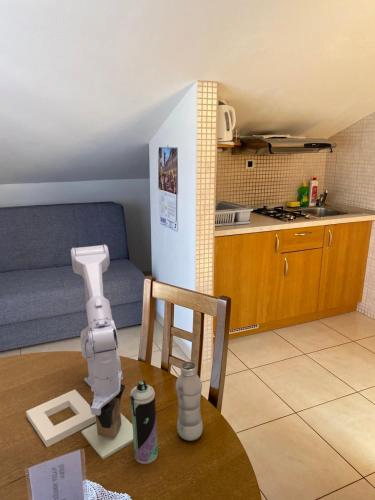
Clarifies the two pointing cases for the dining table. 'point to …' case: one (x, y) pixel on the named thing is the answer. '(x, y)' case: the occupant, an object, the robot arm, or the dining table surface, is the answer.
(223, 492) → the dining table surface
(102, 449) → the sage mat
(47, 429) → the socket board
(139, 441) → the spray can
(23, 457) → the dining table surface
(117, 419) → the walnut block
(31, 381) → the dining table surface
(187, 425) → the plastic bottle
